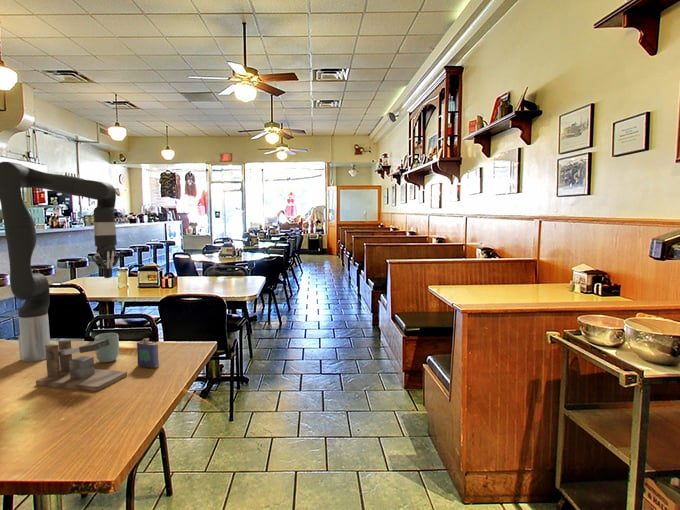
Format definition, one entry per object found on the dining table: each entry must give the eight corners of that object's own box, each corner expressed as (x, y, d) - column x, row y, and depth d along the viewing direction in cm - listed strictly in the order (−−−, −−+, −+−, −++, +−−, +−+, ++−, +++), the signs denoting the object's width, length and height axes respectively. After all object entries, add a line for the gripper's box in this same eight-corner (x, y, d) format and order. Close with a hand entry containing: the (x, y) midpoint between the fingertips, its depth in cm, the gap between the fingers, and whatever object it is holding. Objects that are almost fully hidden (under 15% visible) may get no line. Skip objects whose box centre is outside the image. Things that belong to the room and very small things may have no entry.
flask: (160, 366, 154) (159, 338, 153) (154, 369, 152) (152, 340, 150) (141, 363, 158) (139, 335, 157) (135, 366, 155) (133, 338, 154)
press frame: (36, 385, 138) (33, 348, 137) (69, 370, 151) (67, 336, 150) (97, 391, 133) (95, 353, 132) (127, 375, 146) (125, 340, 144)
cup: (123, 357, 164) (122, 332, 163) (111, 364, 157) (109, 338, 156) (105, 357, 165) (103, 332, 164) (91, 364, 157) (89, 338, 156)
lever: (48, 358, 140) (47, 352, 140) (65, 352, 146) (63, 346, 146) (95, 350, 136) (93, 344, 136) (110, 344, 142) (108, 338, 142)
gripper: (109, 233, 171) (112, 275, 173) (83, 234, 158) (86, 280, 160) (125, 233, 169) (128, 275, 171) (100, 234, 156) (103, 280, 158)
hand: (107, 277), depth 165 cm, fingers closed
